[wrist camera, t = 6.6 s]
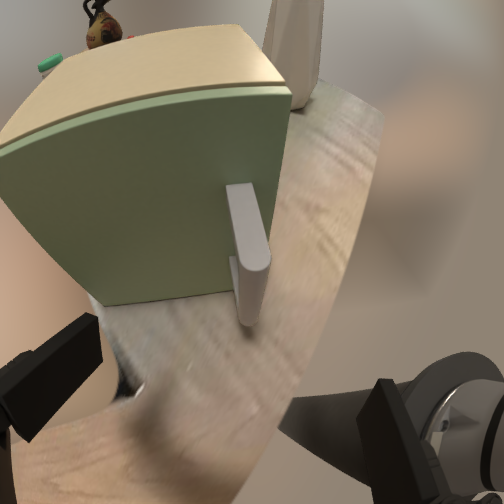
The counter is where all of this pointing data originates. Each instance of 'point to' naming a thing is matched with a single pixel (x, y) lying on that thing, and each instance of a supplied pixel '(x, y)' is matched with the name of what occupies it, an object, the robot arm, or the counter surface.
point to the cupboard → (143, 75)
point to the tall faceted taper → (295, 45)
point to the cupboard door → (157, 194)
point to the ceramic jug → (101, 26)
